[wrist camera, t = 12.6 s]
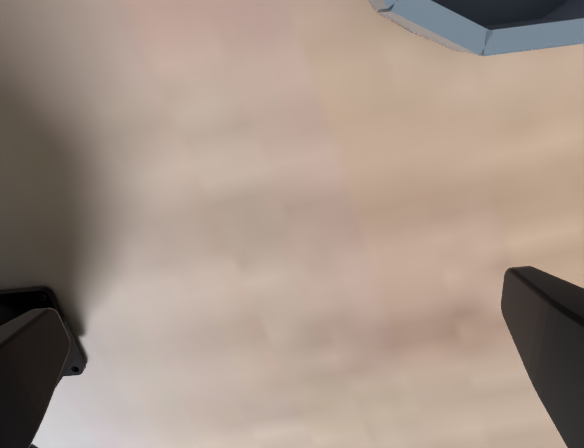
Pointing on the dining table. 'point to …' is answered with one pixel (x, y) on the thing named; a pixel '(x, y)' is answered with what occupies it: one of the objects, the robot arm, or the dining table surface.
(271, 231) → the dining table surface
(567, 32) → the bowl
